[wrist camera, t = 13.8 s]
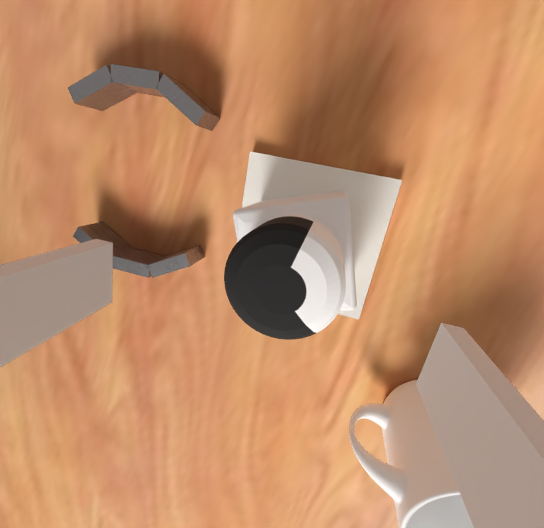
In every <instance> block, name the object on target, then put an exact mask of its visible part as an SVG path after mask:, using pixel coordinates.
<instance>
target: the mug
mask: <svg viewBox="0 0 544 528" xmlns="http://www.w3.org/2000/svg"><path fill="white" fill-rule="evenodd" d="M417 380H418V379H417ZM417 380H412V381H409V382H406V383H404V384H402V385H400V386H398V387H397V388H395V389H394V390H393V391H392V392H391V393H390V394H389V395H388V396H387V398H386V399H385V401H384V403H383V404H379V403H370V404H365V405H362V406H360V407H359V408H357V409H356V410H355V411H354V412H353V414H352V416H351V419H350V424H349V436H350V441H351V445H352V448H353V450H354V453H355V455H356V457H357V458H358V460H359V462H360V463H361V465H362V466H363V468H364V469H365V470H366V472H367V473H368V474H369V475H370V476H371V478H372V479H373V480H374V481H375V482H376V483H377V484H378V485H379V486H380V487H381V488H382V489H384V490H385V491H386V492H387V493H388V494H389V495H390V496H391V497H392V498H393V499H394V502H395V508H396V514H397V520H398V525H399V528H474V527H473V524H472V522H471V519H470V517H469V514H468V512H467V509H466V507H465V504H464V502H463V499H462V497H461V495H460V492H459V490H458V487H457V485H456V482H455V480H454V477H453V475H452V472H451V470H450V467H449V465H448V462H447V460H446V457H445V455H444V452H443V450H442V447H441V445H440V443H439V440H438V438H437V435H436V433H435V430H434V428H433V425H432V423H431V420H430V418H429V415H428V413H427V410H426V408H425V405H424V403H423V400H422V398H421V395H420V393H419V391H418V388H417V386H416V383H417ZM361 418H367V419H370V420H372V421H374V422H376V423H377V424H379V425H380V426H381V427H382V432H383V438H384V444H385V449H386V456H387V461H388V464H387V463H384V462H382V461H380V460H379V459H377V458H375V457H374V456H372V455H371V454H370V453H369V452H368V451H366V450H365V449H364V448H363V446H362V445H361V444H360V442H359V441H358V439H357V437H356V435H355V431H354V426H355V423H356V421H357V420H358V419H361Z"/></svg>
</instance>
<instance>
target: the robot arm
mask: <svg viewBox="0 0 544 528" xmlns="http://www.w3.org/2000/svg"><path fill="white" fill-rule="evenodd" d="M112 274H113V243H112V242H108V241H103V240H99V239H94V240H90V241H86V242H83V243H79V244H75V245H72V246H68V247H64V248H61V249H57V250H54V251H50V252H46V253H43V254H39V255H35V256H32V257H28V258H24V259H21V260H17V261H14V262H10V263H6V264H3V265H0V367H2V366H4V365H5V364H7V363H9V362H11V361H12V360H14V359H16V358H17V357H19V356H21V355H23V354H24V353H26V352H28V351H29V350H31V349H33V348H35V347H36V346H38V345H40V344H41V343H43V342H45V341H47V340H48V339H50V338H52V337H53V336H55V335H57V334H59V333H60V332H62V331H64V330H65V329H67V328H69V327H70V326H72V325H74V324H76V323H77V322H79V321H81V320H82V319H84V318H86V317H88V316H89V315H91V314H93V313H94V312H96V311H98V310H100V309H101V308H103V307H105V306H106V305H108V304H110V303H112ZM416 386H417V388H418V391H419V393H420V395H421V398H422V400H423V403H424V405H425V408H426V410H427V413H428V415H429V418H430V420H431V423H432V425H433V428H434V430H435V433H436V435H437V438H438V440H439V443H440V445H441V447H442V450H443V452H444V455H445V457H446V460H447V462H448V465H449V467H450V470H451V472H452V475H453V477H454V480H455V482H456V485H457V487H458V490H459V492H460V495H461V497H462V499H463V502H464V504H465V507H466V509H467V512H468V514H469V517H470V519H471V522H472V524H473V527H474V528H544V421H543V419H542V418H541V417H540V416H539V415H538V414H537V412H536V411H535V410H534V409H533V408H532V407H531V405H530V404H529V403H528V402H527V401H526V400H525V399H524V397H523V396H522V395H521V394H520V393H519V392H518V390H517V389H516V388H515V387H514V386H513V385H512V383H511V382H510V381H509V380H508V379H507V378H506V376H505V375H504V374H503V373H502V372H501V371H500V370H499V368H498V367H497V366H496V365H495V364H494V363H493V361H492V360H491V359H490V358H489V357H488V356H487V354H486V353H485V352H484V351H483V350H482V349H481V347H480V346H479V345H478V344H477V343H476V342H475V341H474V339H473V338H472V337H471V336H470V335H469V334H468V332H467V331H466V330H465V329H464V328H462V327H458V326H454V325H450V324H445V323H441V325H440V327H439V329H438V332H437V334H436V337H435V339H434V342H433V344H432V346H431V349H430V351H429V354H428V356H427V359H426V361H425V363H424V366H423V368H422V371H421V373H420V375H419V378H418V380H417V383H416Z"/></svg>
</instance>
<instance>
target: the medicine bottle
mask: <svg viewBox="0 0 544 528" xmlns="http://www.w3.org/2000/svg"><path fill="white" fill-rule="evenodd" d="M233 219H234V225H235V231H236V236H237V244H236V245H235V246H234V248H233V249H232V251H231V253H230V255H229V257H228V260H227V262H226V267H225V274H224V281H225V289H226V293H227V296H228V299H229V301H230V303H231V305H232V307H233V309H234V310H235V312H236V313H237V315H238V316H239V317H240V318H241V319H242V320H243V321H244V322H245V323H246V324H247V325H249V326H250V327H251V328H253V329H254V330H256V331H258V332H260V333H262V334H264V335H267V336H270V337H274V338H278V339H300V338H304V337H308V336H311V335H313V334H315V333H318V332H319V331H321V330H322V329H324V328H325V327H326V326H328V325H329V324H330V323H331V322H332V321H333V319H334V318H335V317H336V315H337V314H338V312H339V311H350V310H354V309H355V308H356V306H357V298H356V284H355V270H354V256H353V242H352V228H351V214H350V201H349V198H348V196H347V194H346V192H345V191H334V192H326V193H319V194H311V195H304V196H296V197H289V198H281V199H274V200H266V201H261V202H258V203H255V204H252V205H249V206H246V207H243V208H240V209H238V210H235V212H234V213H233Z"/></svg>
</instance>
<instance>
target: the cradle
mask: <svg viewBox="0 0 544 528" xmlns="http://www.w3.org/2000/svg"><path fill="white" fill-rule="evenodd" d="M68 90H69V92H70V94H71V96H72V99H73V101H74V103H75V104H79V105H82V106H86V107H90V108H93V109H97V110H101V111H104V110H105V109H107V108H109V107H111V106H113V105H115V104H117V103H118V102H120V101H122V100H124V99H126V98H128V97H130V96H131V95H133V94H135V93H137V92H138V93H144V94H149V95H155V96H161V97H166V98H167V99H168V100H169V101H170V102H171V103H172V104H173V105H174V106H175V107H177V108H178V109H179V110H180V111H181V112H182V113H183V114H184V115H185V116H186V117H188V118H189V119H190V120H191V121H192V122H193V123H194V124H195V125H197V126H200V127H202V128H205V129H208V130H211V131H212V130H213V129H214V127H215V126H216V124H217V123H218V121H219V120H220V118H219V117H218V116H217V115H216V114H215V113H214V112H213V111H211V110H210V109H209V108H208V107H207V106H206V105H205V104H204V103H203V102H202V101H200V100H199V99H198V98H197V97H196V96H195V95H194V94H193V93H192V92H191V91H190V90H188V89H187V88H186V87H185V86H184V85H182V84H181V83H179V82H177V81H176V80H174V79H172V78H170V77H169V76H167V75H165V74H163V73H161V72H160V71H154V70H147V69H141V68H134V67H128V66H121V65H115V64H111V67H110V66H108V65H105V66H103V67H102V68H100V69H98V70H97V71H95V72H93V73H92V74H90V75H88V76H87V77H85V78H83V79H81V80H80V81H78V82H76V83H75V84H73V85H71V86H70V87H68ZM73 237H74V238H76V239H77V240H78V241H79V242H80V243H83V242H86V241H90V240H94V239H99V240H103V241H108V242H112V243H113V268H114V269H118V270H122V271H125V272H129V273H133V274H137V275H140V276H144V277H148V278H149V277H151V276H152V278H153V277H156V276H160V275H163V274H166V273H169V272H172V271H176V270H179V269H182V268H185V267H189V266H191V265H193V264H194V263H196V262H197V261H199V260H201V259H202V258H204V254H203V252H202V249H201V247H200V245H199V246H196V247H193V248H190V249H187V250H184V251H181V252H178V253H175V254H172V255H169V256H163V255H159V254H155V253H151V252H147V251H143V250H139V249H135V248H132V247H131V246H130V245H129V244H127V243H126V242H125V241H124V240H123V239H122V238H121V237H120V236H118V235H117V234H116V233H115V232H114V231H113V230H112V229H110V228H109V227H108V226H107V225H106V224H105V223H104V222H100V223H95V224H90V225H85V226H80V227H78V228H77V230H76V232H75V234H74V235H73Z"/></svg>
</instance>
